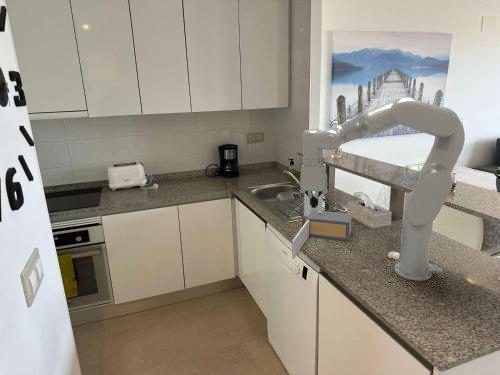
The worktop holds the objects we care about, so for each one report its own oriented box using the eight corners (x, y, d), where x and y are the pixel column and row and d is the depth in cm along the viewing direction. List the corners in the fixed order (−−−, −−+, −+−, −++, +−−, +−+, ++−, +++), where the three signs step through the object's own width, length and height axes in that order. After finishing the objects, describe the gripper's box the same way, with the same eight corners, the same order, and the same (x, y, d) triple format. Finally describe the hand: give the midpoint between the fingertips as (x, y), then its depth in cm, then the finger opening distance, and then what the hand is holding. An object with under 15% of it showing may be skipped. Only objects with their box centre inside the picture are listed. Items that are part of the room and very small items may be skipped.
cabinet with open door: (351, 231, 166) (352, 211, 163) (348, 241, 155) (349, 220, 152) (306, 226, 174) (306, 207, 171) (300, 235, 163) (300, 215, 160)
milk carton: (303, 216, 187) (304, 182, 182) (315, 214, 189) (315, 181, 184) (310, 220, 181) (311, 186, 175) (322, 218, 183) (323, 184, 178)
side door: (294, 258, 140) (294, 240, 138) (291, 258, 141) (290, 240, 138) (309, 235, 162) (309, 219, 159) (306, 235, 162) (306, 219, 160)
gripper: (334, 159, 133) (334, 205, 137) (296, 160, 138) (297, 203, 143) (331, 163, 126) (332, 211, 131) (291, 163, 131) (293, 209, 136)
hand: (314, 207), depth 137 cm, fingers closed
